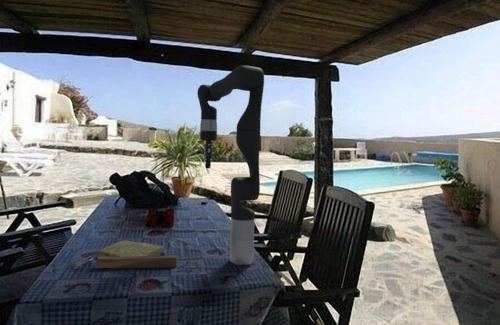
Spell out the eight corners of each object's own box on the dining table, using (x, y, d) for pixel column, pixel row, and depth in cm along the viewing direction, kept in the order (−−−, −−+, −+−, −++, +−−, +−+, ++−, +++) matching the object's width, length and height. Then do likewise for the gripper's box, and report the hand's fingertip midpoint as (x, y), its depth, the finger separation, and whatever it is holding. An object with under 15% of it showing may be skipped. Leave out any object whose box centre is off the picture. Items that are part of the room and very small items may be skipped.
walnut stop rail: (176, 266, 138) (176, 257, 138) (97, 268, 134) (96, 259, 134) (176, 264, 141) (176, 255, 140) (98, 266, 136) (98, 257, 136)
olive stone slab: (123, 246, 161) (123, 238, 161) (164, 252, 155) (164, 244, 155) (93, 260, 144) (93, 251, 143) (138, 267, 138) (138, 258, 137)
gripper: (218, 130, 162) (217, 169, 163) (215, 130, 175) (214, 167, 176) (200, 129, 161) (200, 169, 162) (199, 129, 174) (199, 166, 175)
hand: (207, 168), depth 169 cm, fingers closed
